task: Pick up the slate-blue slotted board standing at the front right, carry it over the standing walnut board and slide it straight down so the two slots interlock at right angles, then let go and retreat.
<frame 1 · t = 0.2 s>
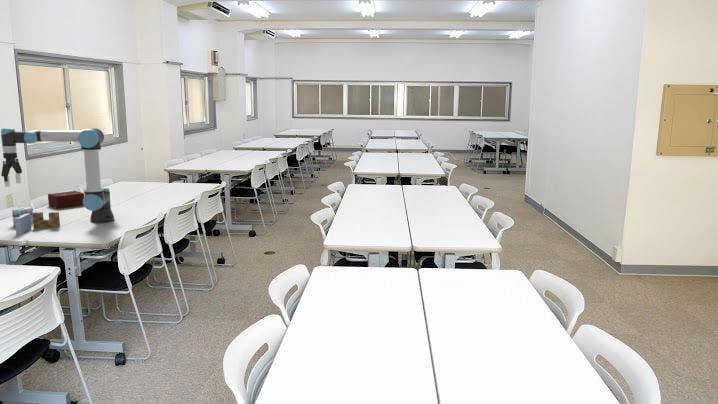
hand: (13, 184, 342), 28 cm above the table, fingers open, 13 cm apart
base plate: (46, 227, 347), on the table
light bulb box: (23, 224, 353), on the table
box: (66, 206, 414), on the table
cross plate: (24, 231, 335), on the table
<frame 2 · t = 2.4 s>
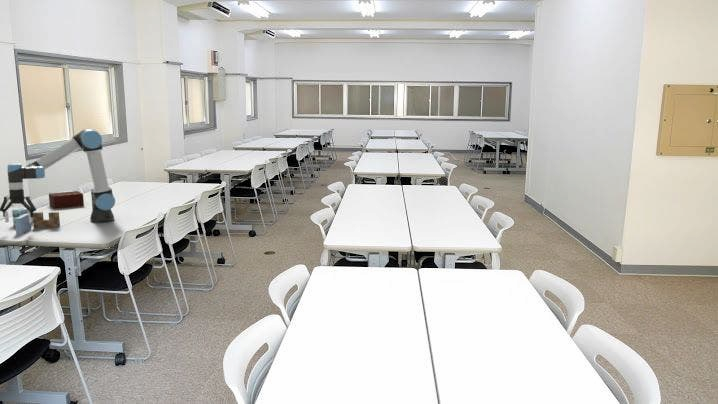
hand: (19, 222, 329), 7 cm above the table, fingers open, 13 cm apart
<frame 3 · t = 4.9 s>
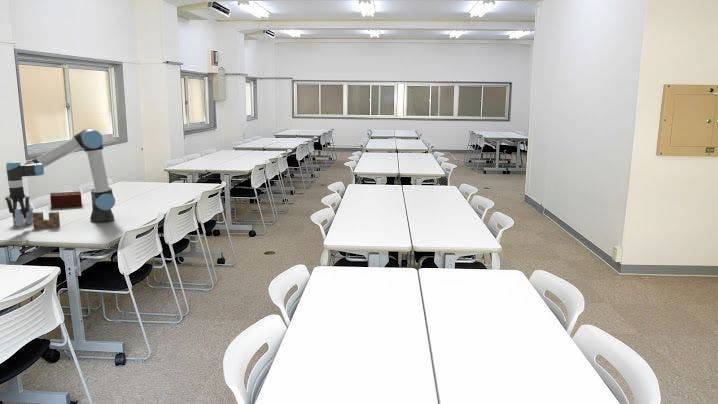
hand: (21, 223, 330), 6 cm above the table, fingers closed on cross plate, 3 cm apart
cross plate: (24, 222, 334), point 6 cm above the table, touching gripper
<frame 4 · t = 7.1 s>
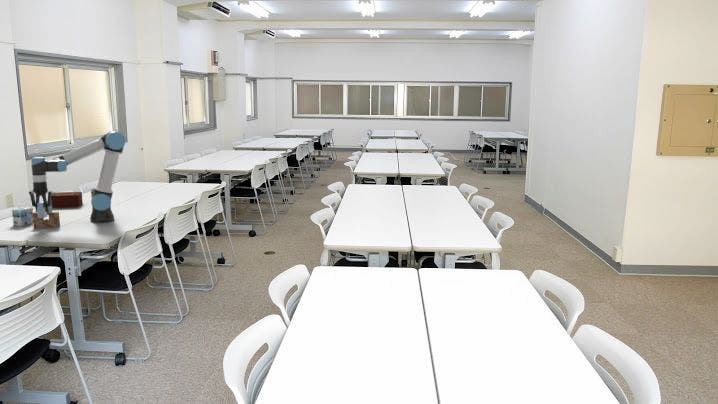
hand: (42, 216, 341), 8 cm above the table, fingers closed on cross plate, 3 cm apart
cross plate: (45, 215, 345), point 8 cm above the table, touching gripper
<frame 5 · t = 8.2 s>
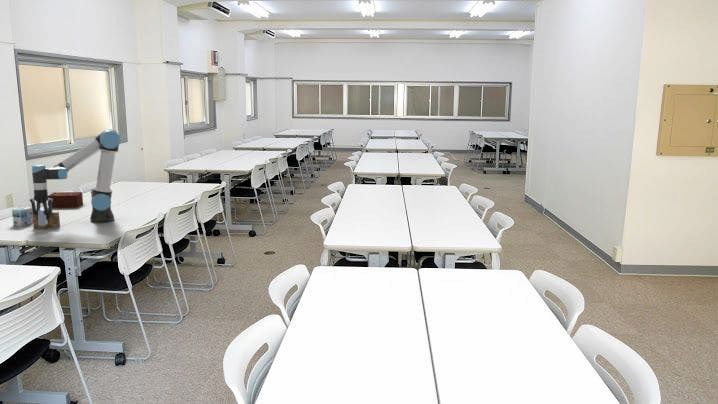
hand: (43, 224, 342), 3 cm above the table, fingers closed on cross plate, 3 cm apart
cross plate: (46, 223, 346), point 3 cm above the table, touching gripper
when the fingers open (1 cm above the table, at t = 9.2 s): cross plate stays where it is, on the table.
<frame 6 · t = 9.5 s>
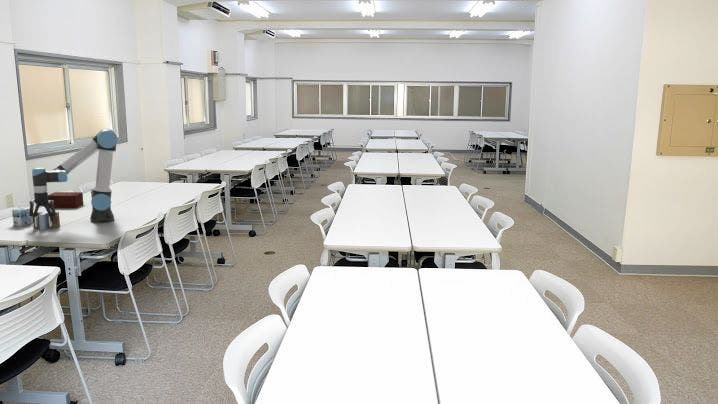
hand: (43, 226, 342), 2 cm above the table, fingers open, 8 cm apart
cross plate: (47, 227, 347), on the table
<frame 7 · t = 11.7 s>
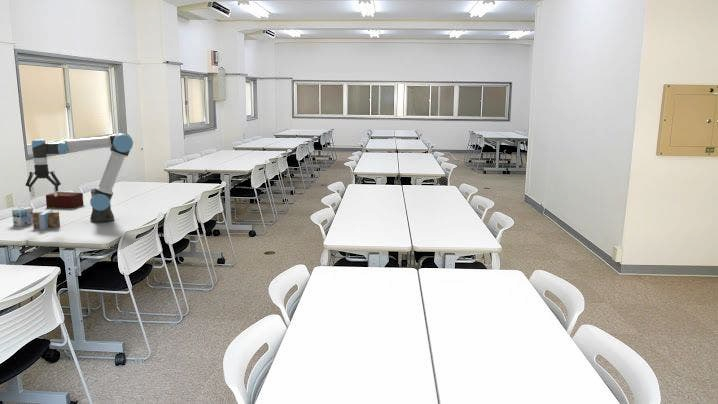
hand: (44, 196, 340), 21 cm above the table, fingers open, 13 cm apart
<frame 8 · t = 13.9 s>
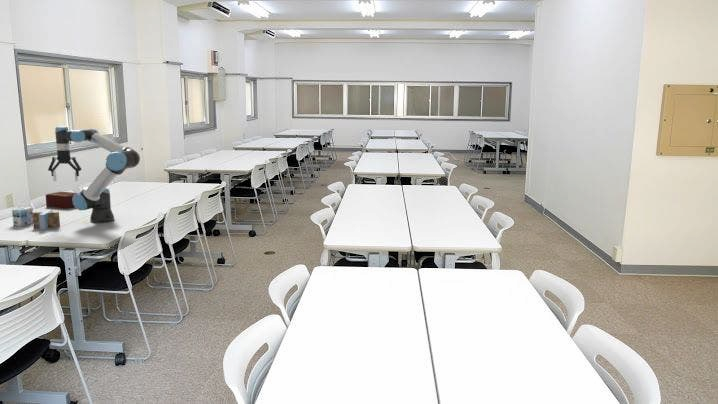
hand: (65, 181, 356), 29 cm above the table, fingers open, 13 cm apart
at the end: cross plate 0.1 cm off-centre on the base plate, point 0.0 cm above the base plate's base; cross plate tilted 0°; the gripper is holding nothing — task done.
